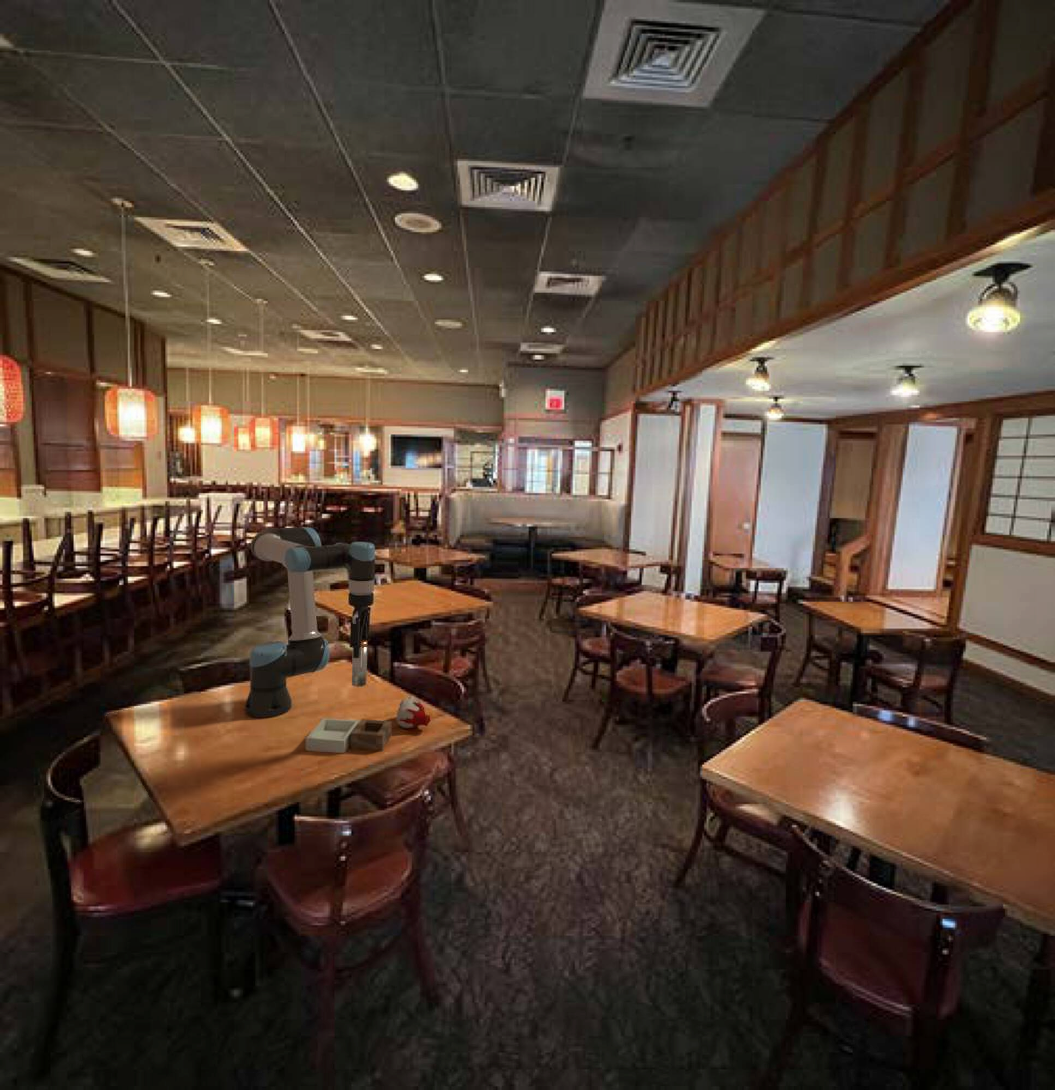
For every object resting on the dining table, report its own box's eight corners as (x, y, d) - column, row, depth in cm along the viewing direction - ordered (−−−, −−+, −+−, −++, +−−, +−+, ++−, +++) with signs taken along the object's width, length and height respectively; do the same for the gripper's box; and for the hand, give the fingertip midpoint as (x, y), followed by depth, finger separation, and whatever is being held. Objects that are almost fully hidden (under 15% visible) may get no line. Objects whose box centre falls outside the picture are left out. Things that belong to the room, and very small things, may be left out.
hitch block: (361, 733, 183) (361, 719, 182) (391, 735, 182) (391, 721, 182) (350, 748, 173) (350, 733, 172) (382, 750, 173) (382, 735, 172)
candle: (403, 712, 198) (438, 727, 193) (383, 724, 188) (418, 741, 182) (407, 689, 197) (441, 704, 191) (386, 700, 187) (422, 716, 181)
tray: (324, 729, 184) (324, 718, 184) (359, 731, 184) (359, 720, 183) (305, 750, 170) (305, 738, 170) (344, 753, 170) (344, 740, 169)
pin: (354, 680, 178) (355, 638, 176) (368, 681, 178) (369, 639, 176) (349, 686, 173) (350, 643, 171) (363, 687, 173) (365, 644, 171)
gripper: (358, 585, 180) (356, 653, 183) (339, 598, 162) (337, 673, 166) (381, 586, 180) (378, 655, 183) (364, 600, 162) (362, 675, 166)
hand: (359, 663), depth 174 cm, fingers closed on pin, 4 cm apart
